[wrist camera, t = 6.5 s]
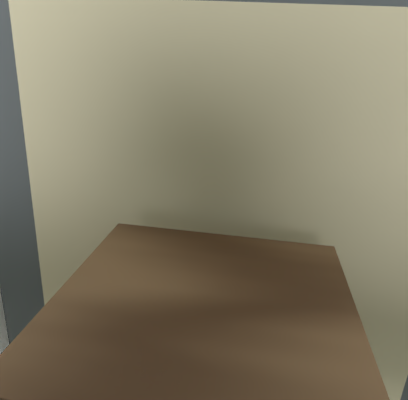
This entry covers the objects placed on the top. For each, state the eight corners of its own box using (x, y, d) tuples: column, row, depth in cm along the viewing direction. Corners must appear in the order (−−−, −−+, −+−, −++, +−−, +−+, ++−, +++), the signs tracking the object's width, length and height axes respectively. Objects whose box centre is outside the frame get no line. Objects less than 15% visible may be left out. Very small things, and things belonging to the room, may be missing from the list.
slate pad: (604, -68, 8) (634, -79, 7) (399, 519, 14) (405, 541, 13) (-41, -73, 9) (-63, -82, 9) (37, 451, 16) (28, 467, 15)
